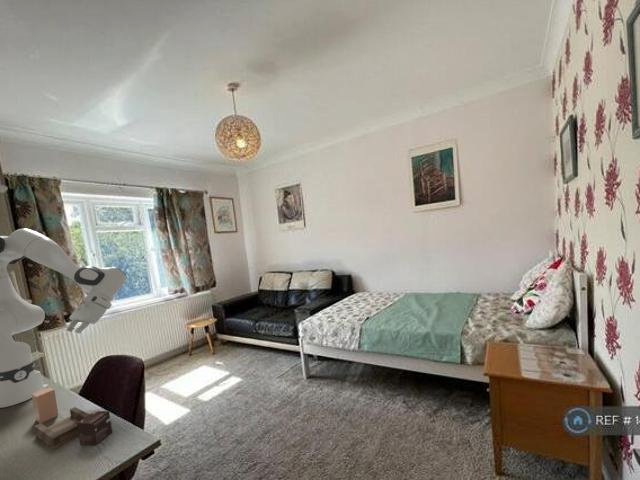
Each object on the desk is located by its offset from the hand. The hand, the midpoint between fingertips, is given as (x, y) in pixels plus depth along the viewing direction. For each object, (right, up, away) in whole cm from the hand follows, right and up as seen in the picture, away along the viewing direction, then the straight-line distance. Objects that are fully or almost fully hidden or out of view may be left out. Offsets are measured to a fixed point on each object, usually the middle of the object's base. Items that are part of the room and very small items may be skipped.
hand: (72, 332), depth 119 cm
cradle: (+15, -27, -20) cm, 37 cm away
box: (+30, -26, -26) cm, 48 cm away
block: (-1, -29, -10) cm, 31 cm away
